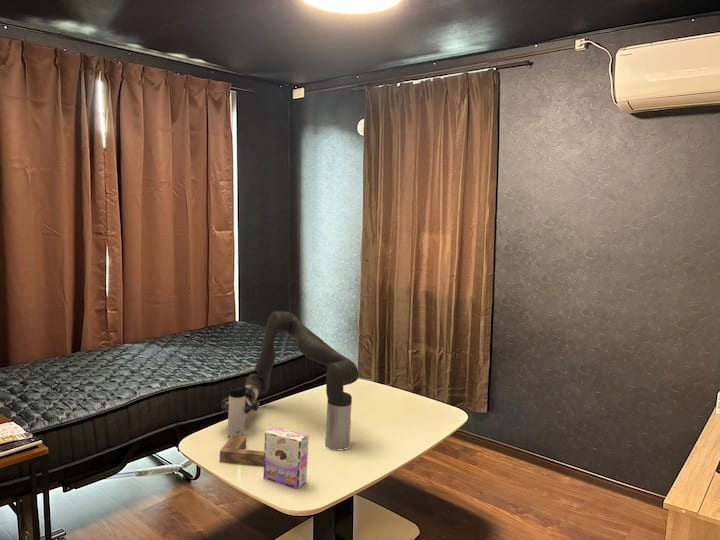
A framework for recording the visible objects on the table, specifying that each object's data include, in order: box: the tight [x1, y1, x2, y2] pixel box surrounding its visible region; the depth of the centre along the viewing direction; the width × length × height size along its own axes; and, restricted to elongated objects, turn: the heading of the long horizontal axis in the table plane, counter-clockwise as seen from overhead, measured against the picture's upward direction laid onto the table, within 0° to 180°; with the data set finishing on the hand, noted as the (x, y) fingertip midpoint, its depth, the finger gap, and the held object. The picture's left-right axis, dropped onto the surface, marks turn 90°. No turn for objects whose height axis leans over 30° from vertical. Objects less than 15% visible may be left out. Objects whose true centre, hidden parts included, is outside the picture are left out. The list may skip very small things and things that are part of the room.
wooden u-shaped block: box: [218, 435, 264, 467], centre depth 197 cm, size 22×14×4 cm, turn 86°
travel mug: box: [227, 385, 247, 439], centre depth 211 cm, size 6×7×20 cm
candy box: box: [263, 426, 309, 490], centre depth 180 cm, size 14×6×16 cm, turn 65°
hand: (235, 410), depth 210 cm, fingers open, 8 cm apart
